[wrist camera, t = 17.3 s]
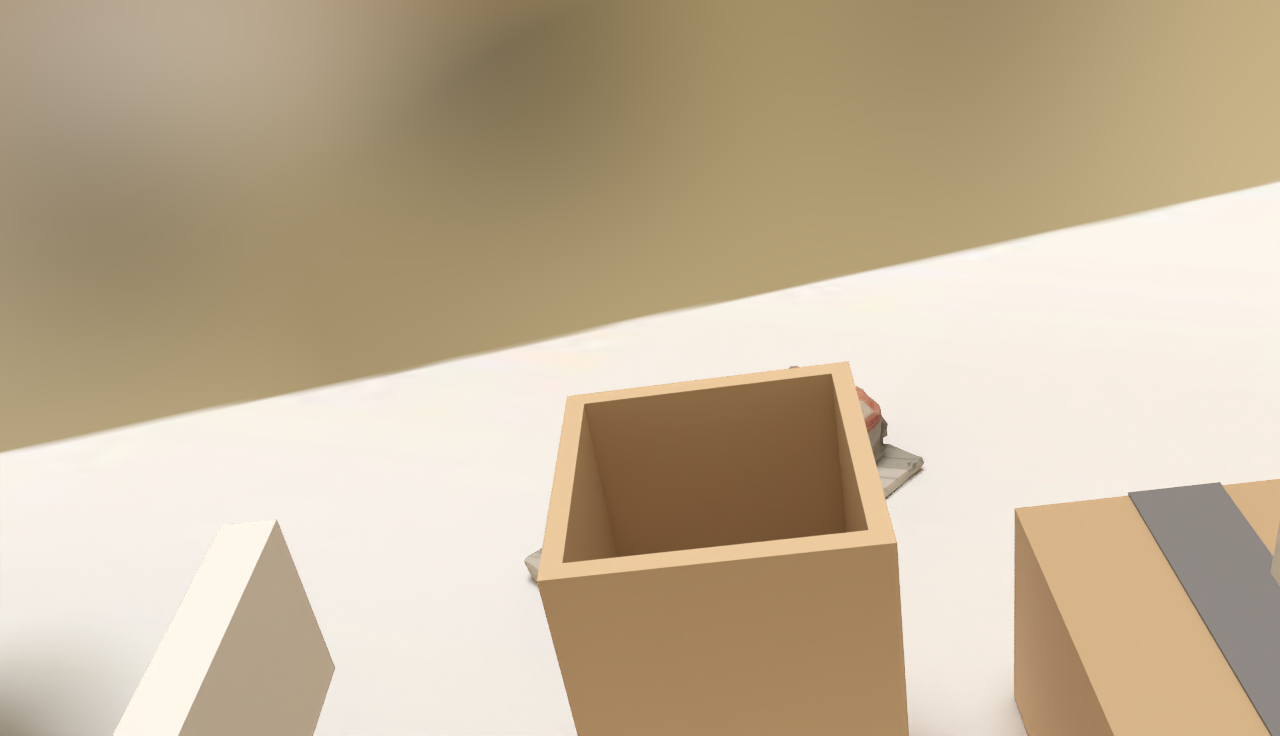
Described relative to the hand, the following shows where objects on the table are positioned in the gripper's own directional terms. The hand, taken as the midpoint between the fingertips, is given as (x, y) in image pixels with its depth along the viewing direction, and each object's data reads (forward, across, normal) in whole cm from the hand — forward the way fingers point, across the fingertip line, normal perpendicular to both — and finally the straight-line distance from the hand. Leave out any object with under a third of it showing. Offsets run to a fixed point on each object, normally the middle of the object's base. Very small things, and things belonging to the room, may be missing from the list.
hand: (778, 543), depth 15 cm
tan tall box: (+14, -1, -25) cm, 29 cm away
